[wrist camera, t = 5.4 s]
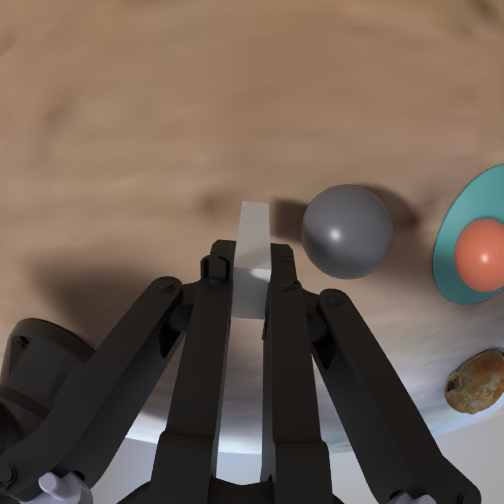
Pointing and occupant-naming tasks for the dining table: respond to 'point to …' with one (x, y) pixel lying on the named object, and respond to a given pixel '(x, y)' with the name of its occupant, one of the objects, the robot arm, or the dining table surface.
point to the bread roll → (476, 383)
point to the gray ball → (347, 231)
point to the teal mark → (458, 217)
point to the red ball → (481, 255)
